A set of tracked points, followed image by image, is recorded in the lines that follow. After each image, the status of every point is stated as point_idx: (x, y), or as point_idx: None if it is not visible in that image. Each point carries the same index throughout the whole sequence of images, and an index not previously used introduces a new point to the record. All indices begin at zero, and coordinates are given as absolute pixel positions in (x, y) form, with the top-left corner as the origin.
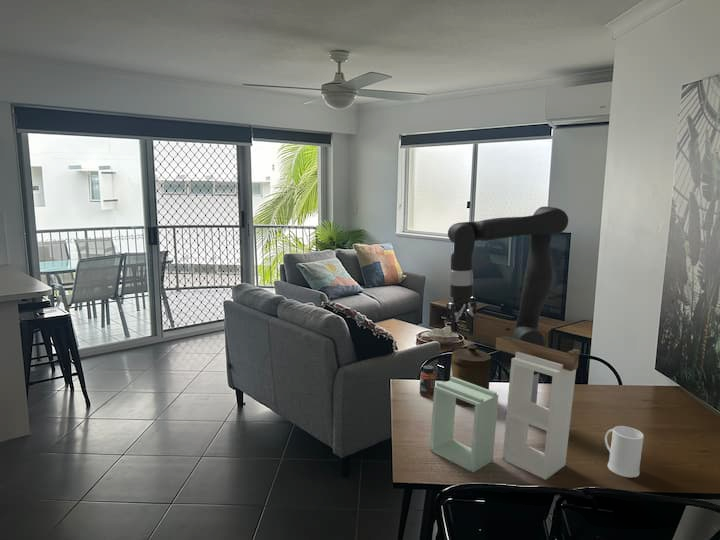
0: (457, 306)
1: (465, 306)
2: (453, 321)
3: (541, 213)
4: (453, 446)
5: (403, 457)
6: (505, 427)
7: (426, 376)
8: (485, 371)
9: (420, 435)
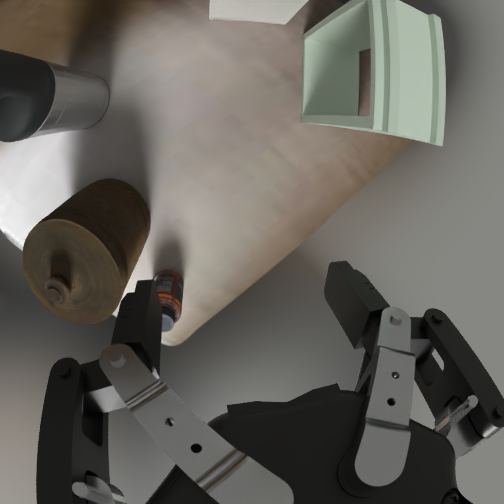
0: (437, 432)
1: (283, 467)
2: (410, 317)
3: None
4: (323, 101)
5: (394, 149)
6: (306, 1)
7: (177, 304)
8: (73, 205)
9: (324, 172)
